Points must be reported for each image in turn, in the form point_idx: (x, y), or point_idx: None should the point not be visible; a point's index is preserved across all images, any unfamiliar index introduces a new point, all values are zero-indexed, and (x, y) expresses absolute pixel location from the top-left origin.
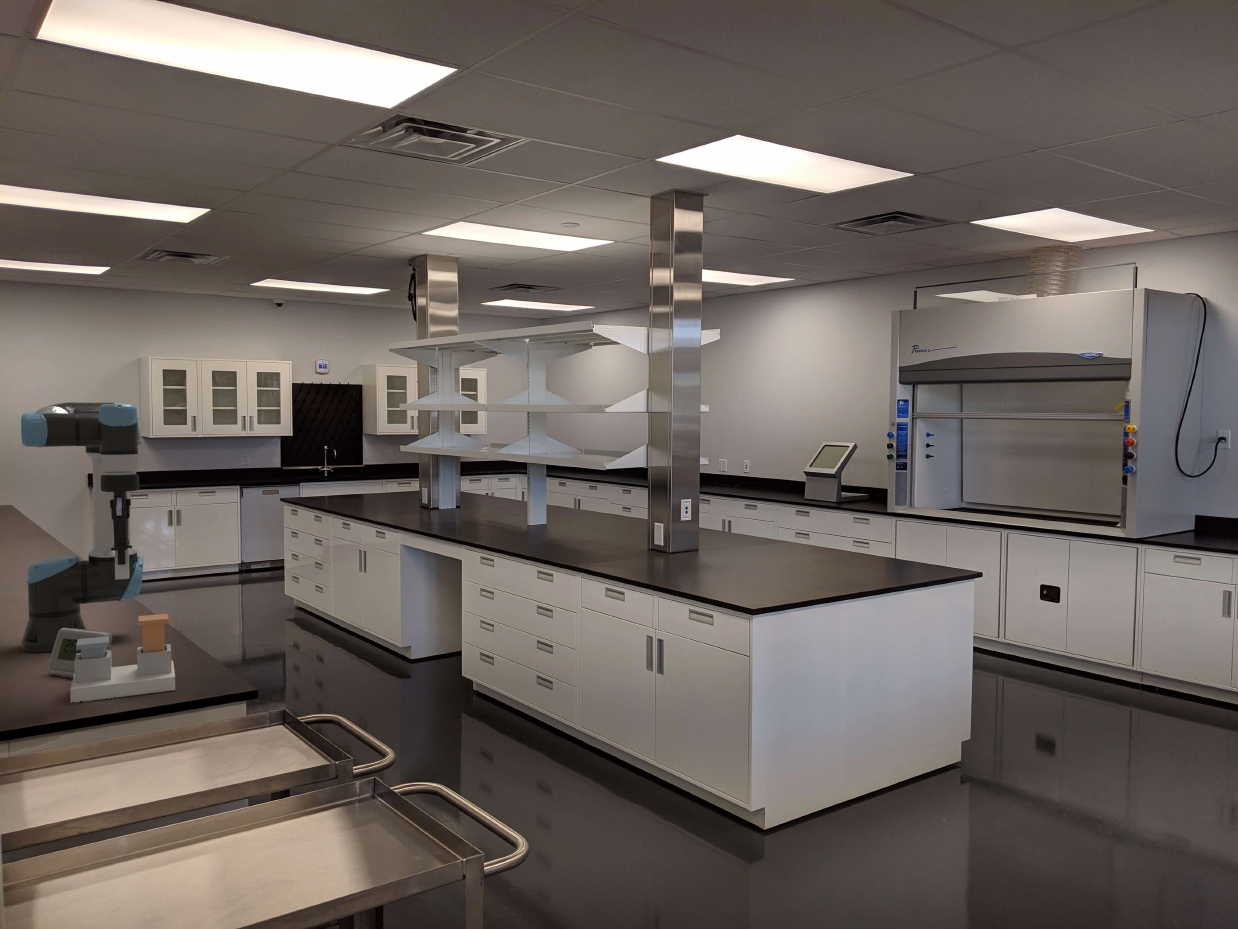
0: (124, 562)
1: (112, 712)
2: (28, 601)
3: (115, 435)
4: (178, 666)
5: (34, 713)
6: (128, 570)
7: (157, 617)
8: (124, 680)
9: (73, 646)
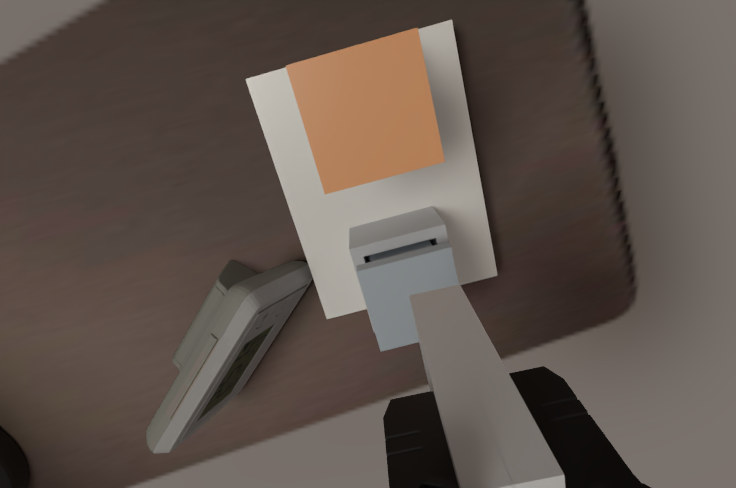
0: (560, 384)
1: (597, 143)
2: None
3: None
4: (176, 84)
5: (541, 308)
6: (476, 319)
7: (373, 94)
8: (453, 165)
9: (229, 376)
